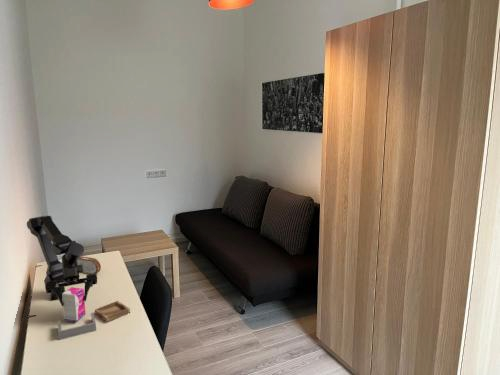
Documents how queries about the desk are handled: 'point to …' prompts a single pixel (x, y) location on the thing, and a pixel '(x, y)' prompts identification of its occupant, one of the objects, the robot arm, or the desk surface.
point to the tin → (89, 265)
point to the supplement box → (73, 304)
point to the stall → (76, 329)
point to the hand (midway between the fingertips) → (74, 303)
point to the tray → (112, 311)
